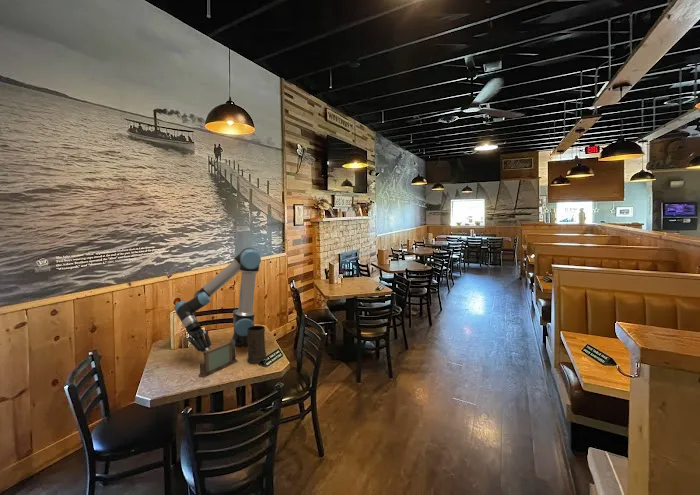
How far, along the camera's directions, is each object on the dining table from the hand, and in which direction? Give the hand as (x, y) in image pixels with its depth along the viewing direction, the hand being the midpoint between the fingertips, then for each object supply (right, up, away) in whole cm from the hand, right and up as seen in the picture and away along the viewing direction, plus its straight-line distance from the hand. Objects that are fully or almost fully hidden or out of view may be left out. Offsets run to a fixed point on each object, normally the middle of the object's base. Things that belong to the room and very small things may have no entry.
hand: (211, 358), depth 190 cm
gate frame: (+5, -5, -1) cm, 7 cm away
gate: (+5, -4, -1) cm, 6 cm away
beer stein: (+23, -4, +12) cm, 26 cm away
